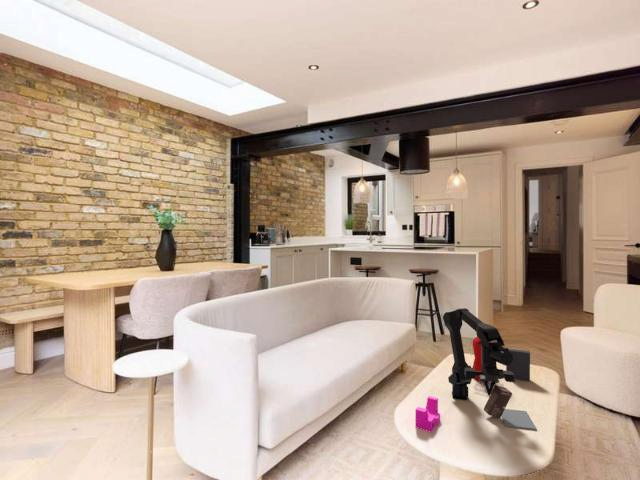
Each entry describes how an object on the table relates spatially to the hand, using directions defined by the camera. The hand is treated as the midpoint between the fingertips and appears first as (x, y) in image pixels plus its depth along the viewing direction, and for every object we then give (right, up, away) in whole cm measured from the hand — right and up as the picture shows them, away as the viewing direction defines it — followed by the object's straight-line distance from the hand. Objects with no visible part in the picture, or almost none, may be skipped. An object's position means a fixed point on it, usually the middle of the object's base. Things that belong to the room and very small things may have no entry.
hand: (488, 394), depth 156 cm
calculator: (+34, -9, +41) cm, 54 cm away
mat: (+10, -9, -2) cm, 14 cm away
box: (+1, -8, 0) cm, 8 cm away
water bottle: (+14, -9, +42) cm, 45 cm away
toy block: (-26, -10, -4) cm, 28 cm away
